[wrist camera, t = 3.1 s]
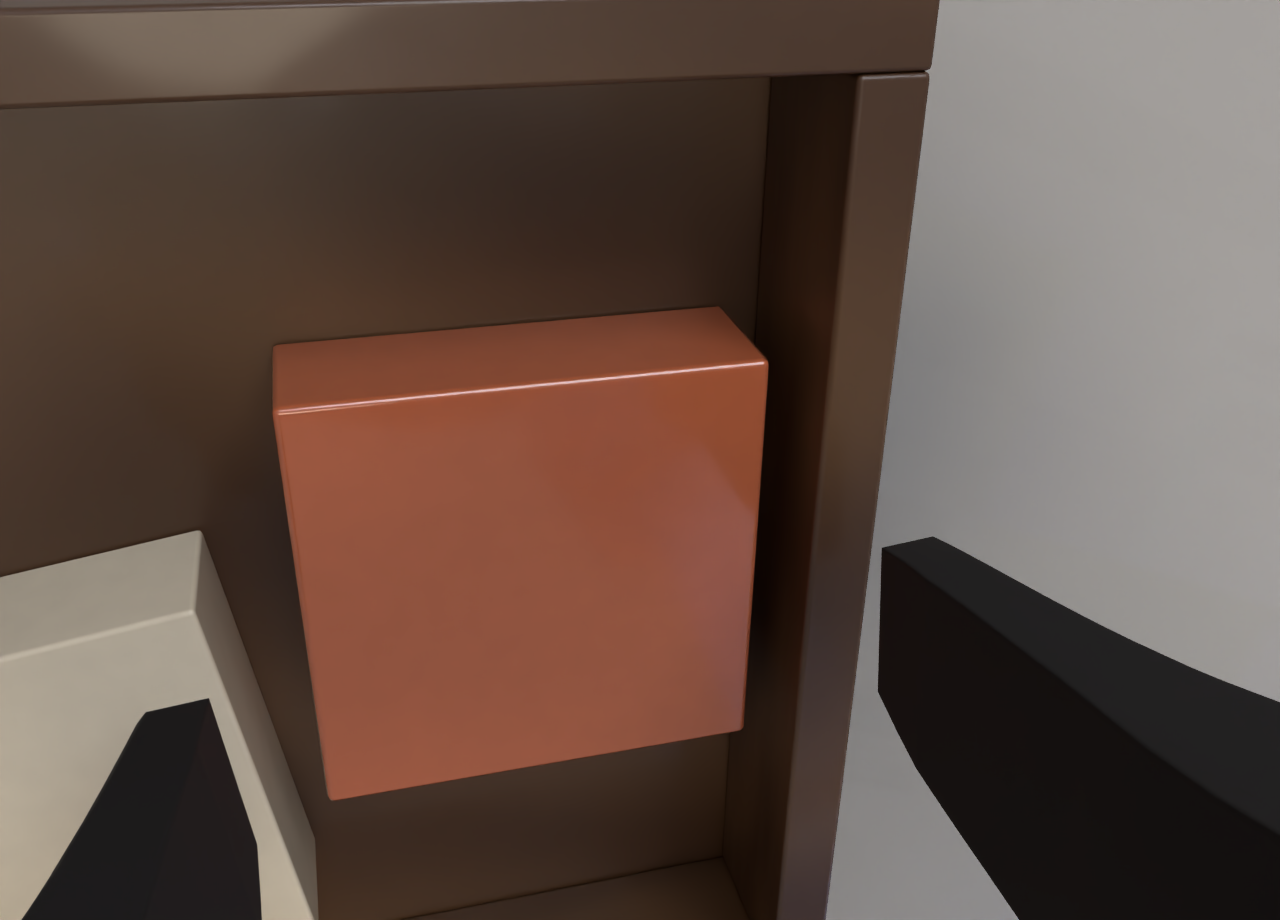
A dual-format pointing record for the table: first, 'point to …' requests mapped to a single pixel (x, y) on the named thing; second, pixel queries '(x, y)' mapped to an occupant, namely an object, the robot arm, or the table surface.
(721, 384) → the terracotta coaster
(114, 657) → the cream coaster
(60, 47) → the tray
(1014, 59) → the table surface
